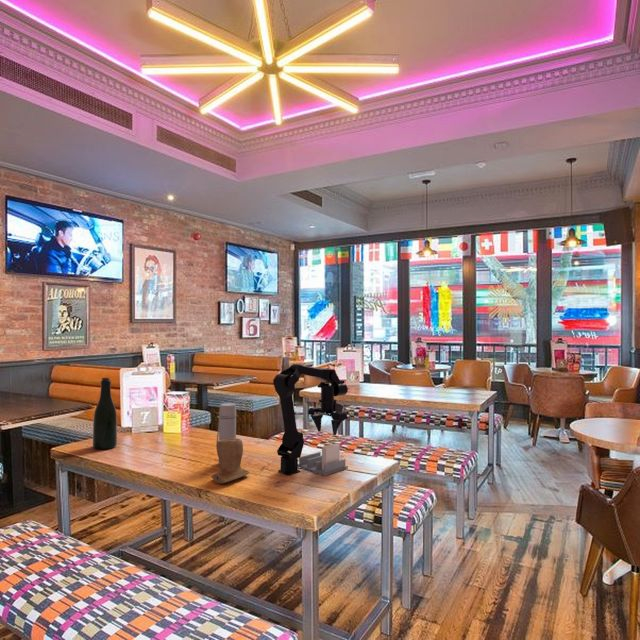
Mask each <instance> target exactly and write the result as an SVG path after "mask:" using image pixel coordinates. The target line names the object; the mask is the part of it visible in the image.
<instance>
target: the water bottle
mask: <svg viewBox="0 0 640 640" xmlns="http://www.w3.org/2000/svg"><path fill="white" fill-rule="evenodd" d="M216 418H218V424H217V434H216V444H215V445H216V446H215V447H216V450H217V442H218V441H219V440H223V439H237V405H236V403H234V402H233V403H232V402H231V403H230V402H226V403H225V402H224V403H220V404H219V412H218V415H217V417H216ZM218 463H219V465H220V462H219V461H218Z"/></svg>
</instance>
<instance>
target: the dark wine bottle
mask: <svg viewBox="0 0 640 640" xmlns="http://www.w3.org/2000/svg"><path fill="white" fill-rule="evenodd" d="M111 384H112V380H111V378H110V377H102V378H101V380H100V393H99V394H100V395H99V399H98V400H97V401H98V402H97V405H96V407H95V409H94V413H93V423H92V448H93V449H94V450H97V451H98V450H103V451H104V450H110V449H114V448H116V447H117V444H118V416H117V409H116V406H115V403H114V400H113V397H112V391H111V386H112V385H111Z"/></svg>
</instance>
